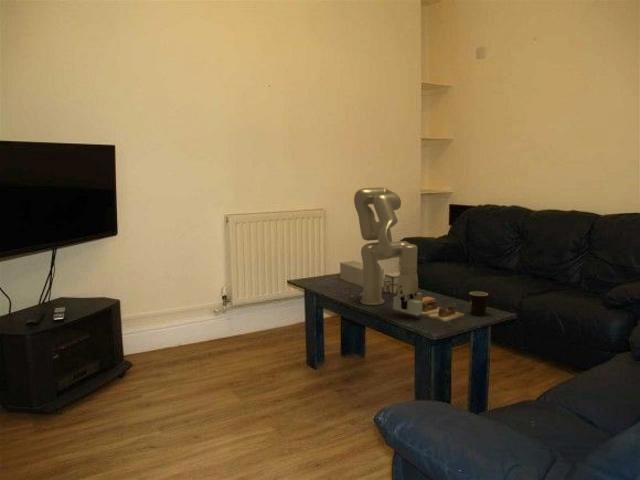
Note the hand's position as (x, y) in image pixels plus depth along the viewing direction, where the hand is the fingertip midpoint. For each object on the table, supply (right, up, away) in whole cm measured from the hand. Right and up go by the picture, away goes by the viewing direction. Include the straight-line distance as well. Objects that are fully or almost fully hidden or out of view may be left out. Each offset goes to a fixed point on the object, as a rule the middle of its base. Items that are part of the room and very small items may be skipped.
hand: (407, 307), depth 244 cm
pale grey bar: (0, -2, 0) cm, 2 cm away
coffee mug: (+35, -3, +4) cm, 36 cm away
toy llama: (+2, +3, +48) cm, 48 cm away
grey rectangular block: (-16, +5, +72) cm, 74 cm away
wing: (+8, -2, +17) cm, 19 cm away
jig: (+15, -4, +4) cm, 16 cm away
